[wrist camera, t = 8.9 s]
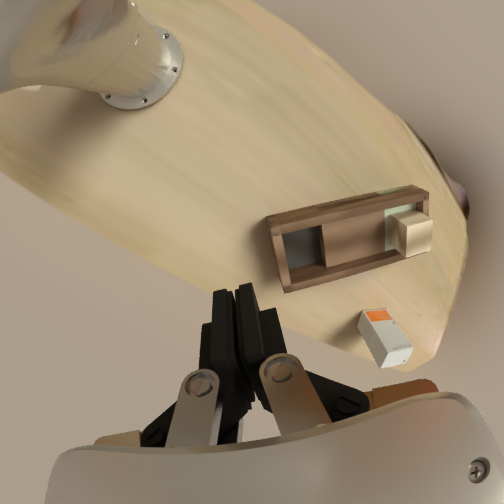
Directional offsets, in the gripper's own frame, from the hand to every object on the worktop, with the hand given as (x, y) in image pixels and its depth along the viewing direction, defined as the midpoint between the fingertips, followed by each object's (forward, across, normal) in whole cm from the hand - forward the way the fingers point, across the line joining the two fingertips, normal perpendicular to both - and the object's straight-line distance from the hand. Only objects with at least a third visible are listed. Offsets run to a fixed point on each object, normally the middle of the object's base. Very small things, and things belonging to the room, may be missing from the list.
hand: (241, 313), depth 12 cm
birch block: (+24, -24, +12) cm, 36 cm away
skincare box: (+27, -20, +31) cm, 46 cm away
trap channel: (+27, -16, +11) cm, 33 cm away
